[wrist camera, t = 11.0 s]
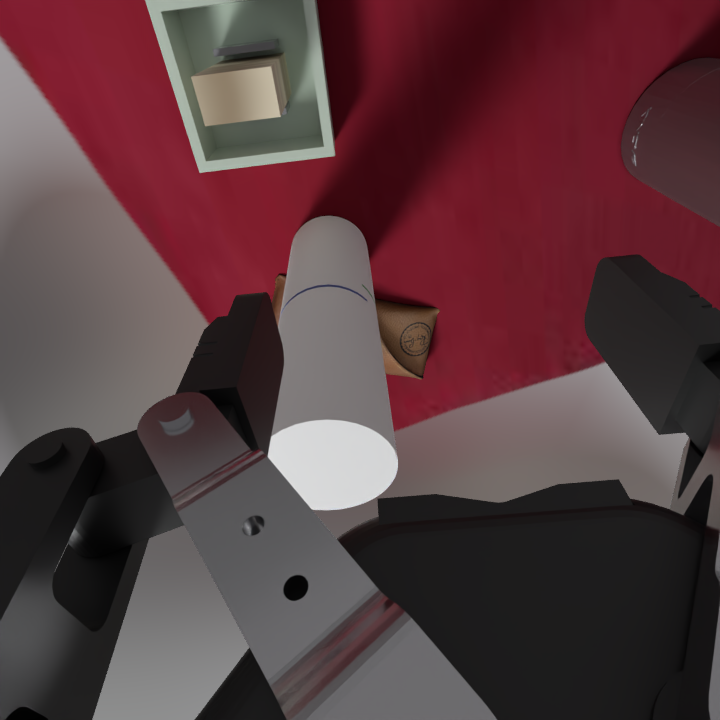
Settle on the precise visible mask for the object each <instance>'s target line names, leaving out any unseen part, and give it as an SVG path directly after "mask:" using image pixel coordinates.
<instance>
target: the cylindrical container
mask: <svg viewBox="0 0 720 720" xmlns="http://www.w3.org/2000/svg"><path fill="white" fill-rule="evenodd" d="M278 329H279V333H280V337H281V341H282V345H283V352H284V368H283V374H282V380H281V385H280V391H279V396H278V402H277V407H276V413H275V418H274V424H273V429H272V435H271V440H270V446H269V452H268V458H269V459H270V460H271V462H272V463H273V464H274V465H275V466H276V468H277V469H278V470H279V471H280V472H281V473H282V475H283V476H284V477H285V478H286V479H287V481H288V482H289V483H290V484H291V485H292V487H293V488H294V489H295V490H296V491H297V493H298V494H299V495H300V496H301V497H302V499H303V500H304V501H305V502H306V503H307V504H308V506H309V507H310V508H311V509H314V510H336V509H344V508H349V507H354V506H356V505H360V504H363V503H365V502H367V501H370V500H372V499H373V498H375V497H377V496H378V495H380V494H381V493H382V492H384V491H385V490H386V489H387V488H388V487H389V486H390V484H391V483H392V481H393V480H394V478H395V476H396V472H397V469H398V458H397V451H396V444H395V437H394V430H393V423H392V416H391V409H390V402H389V395H388V388H387V381H386V374H385V367H384V360H383V353H382V346H381V339H380V332H379V326H378V319H377V312H376V305H375V298H374V290H373V283H372V276H371V269H370V262H369V255H368V248H367V244H366V240H365V238H364V236H363V234H362V232H361V231H360V230H359V229H358V228H357V227H356V226H355V225H354V224H353V223H351V222H350V221H348V220H346V219H343V218H340V217H337V216H321V217H317V218H314V219H312V220H310V221H308V222H306V223H305V224H304V225H303V226H302V227H301V228H300V229H299V230H298V231H297V233H296V235H295V237H294V239H293V243H292V247H291V253H290V259H289V265H288V271H287V277H286V283H285V289H284V294H283V300H282V306H281V312H280V318H279V324H278Z"/></svg>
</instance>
